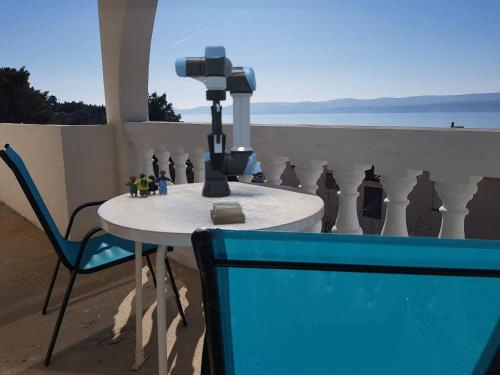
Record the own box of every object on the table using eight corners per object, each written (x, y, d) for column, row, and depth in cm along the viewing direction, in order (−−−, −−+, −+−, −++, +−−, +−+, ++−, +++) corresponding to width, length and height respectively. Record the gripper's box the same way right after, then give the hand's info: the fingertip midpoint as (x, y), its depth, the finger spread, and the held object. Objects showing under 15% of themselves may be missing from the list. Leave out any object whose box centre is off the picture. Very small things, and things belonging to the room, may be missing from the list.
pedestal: (210, 217, 151) (210, 201, 150) (239, 215, 153) (239, 200, 152) (213, 225, 139) (213, 208, 138) (245, 223, 142) (245, 207, 140)
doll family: (165, 192, 204) (164, 168, 202) (174, 194, 198) (173, 169, 195) (125, 198, 189) (123, 172, 187) (133, 200, 183) (131, 174, 180)
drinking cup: (208, 168, 146) (206, 117, 142) (227, 168, 146) (226, 117, 143) (206, 171, 138) (205, 117, 135) (227, 171, 139) (226, 117, 135)
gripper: (204, 91, 146) (205, 150, 150) (207, 87, 127) (209, 154, 131) (222, 91, 147) (223, 149, 151) (229, 87, 128) (230, 153, 132)
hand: (217, 151), depth 141 cm, fingers closed on drinking cup, 7 cm apart
